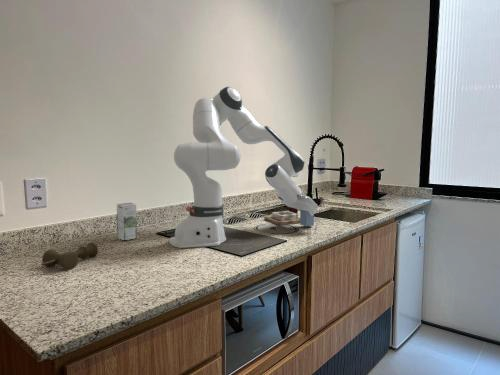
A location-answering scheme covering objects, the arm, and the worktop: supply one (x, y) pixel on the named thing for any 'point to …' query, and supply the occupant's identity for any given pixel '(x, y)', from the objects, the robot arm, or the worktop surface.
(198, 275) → the worktop surface
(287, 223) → the walnut base board
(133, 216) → the syrup box
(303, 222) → the slate block
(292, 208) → the mate gourd
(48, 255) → the kendama
